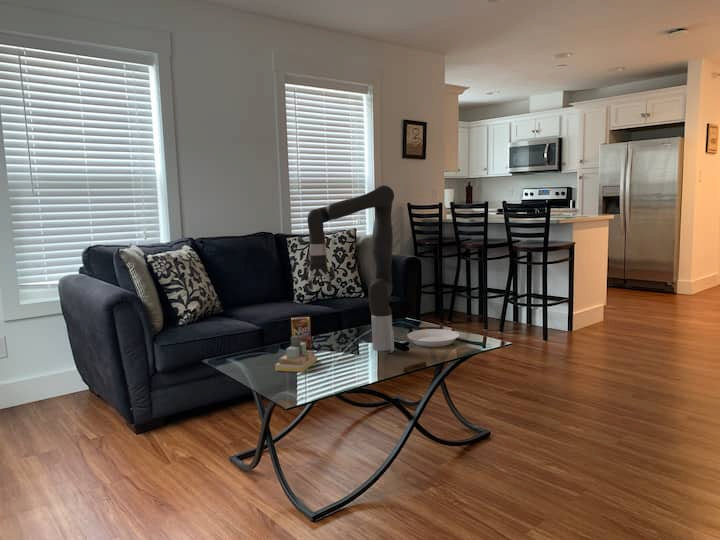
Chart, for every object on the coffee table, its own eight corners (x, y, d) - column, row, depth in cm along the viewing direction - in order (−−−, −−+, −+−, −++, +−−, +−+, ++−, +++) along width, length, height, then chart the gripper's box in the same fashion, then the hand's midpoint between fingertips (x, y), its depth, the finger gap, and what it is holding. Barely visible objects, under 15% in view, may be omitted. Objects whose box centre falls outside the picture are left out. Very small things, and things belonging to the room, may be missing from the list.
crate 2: (297, 351, 240) (297, 342, 239) (306, 351, 238) (305, 342, 238) (293, 353, 236) (293, 344, 235) (302, 354, 235) (302, 344, 234)
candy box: (292, 350, 264) (290, 319, 262) (292, 348, 268) (290, 317, 266) (311, 349, 265) (309, 317, 263) (311, 347, 269) (309, 316, 268)
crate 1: (290, 355, 233) (290, 346, 232) (299, 356, 232) (298, 346, 231) (286, 358, 229) (286, 349, 229) (295, 358, 228) (295, 349, 227)
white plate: (402, 348, 260) (402, 340, 260) (413, 335, 284) (412, 328, 284) (456, 349, 253) (455, 342, 253) (462, 336, 277) (462, 329, 276)
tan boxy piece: (292, 354, 242) (291, 332, 241) (314, 355, 239) (312, 332, 238) (279, 363, 229) (277, 340, 228) (301, 364, 226) (300, 340, 225)
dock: (317, 364, 240) (317, 355, 240) (303, 375, 225) (302, 365, 224) (291, 363, 244) (290, 354, 243) (275, 374, 228) (275, 364, 228)
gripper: (335, 252, 251) (337, 288, 253) (306, 253, 255) (308, 288, 257) (330, 254, 244) (332, 290, 246) (300, 255, 248) (302, 290, 250)
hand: (320, 289), depth 252 cm, fingers open, 8 cm apart
